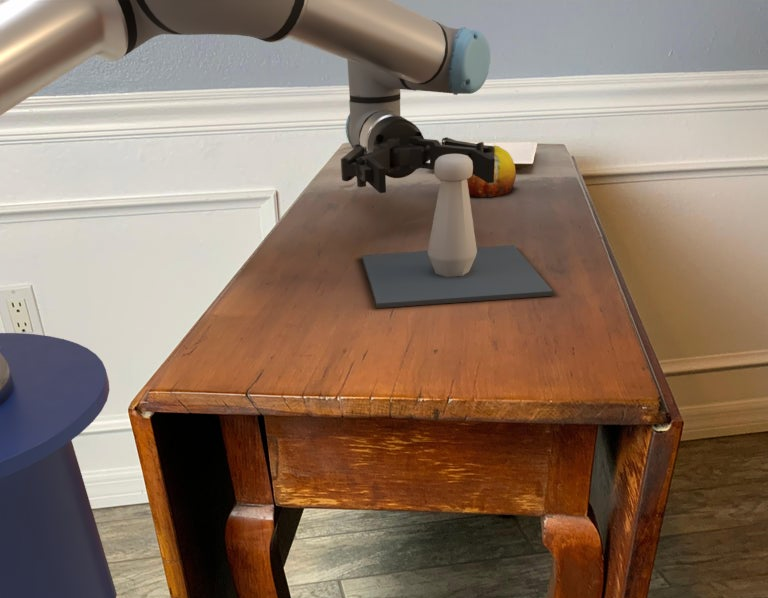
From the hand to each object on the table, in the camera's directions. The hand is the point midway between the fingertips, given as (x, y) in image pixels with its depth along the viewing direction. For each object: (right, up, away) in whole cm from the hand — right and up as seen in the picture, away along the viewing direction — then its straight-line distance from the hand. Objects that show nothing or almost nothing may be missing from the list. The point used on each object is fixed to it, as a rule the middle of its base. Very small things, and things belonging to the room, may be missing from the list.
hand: (437, 175), depth 94 cm
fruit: (+10, +13, +37) cm, 41 cm away
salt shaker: (+2, -11, +1) cm, 11 cm away
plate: (+12, +25, +55) cm, 61 cm away
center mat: (+2, -11, +2) cm, 12 cm away
